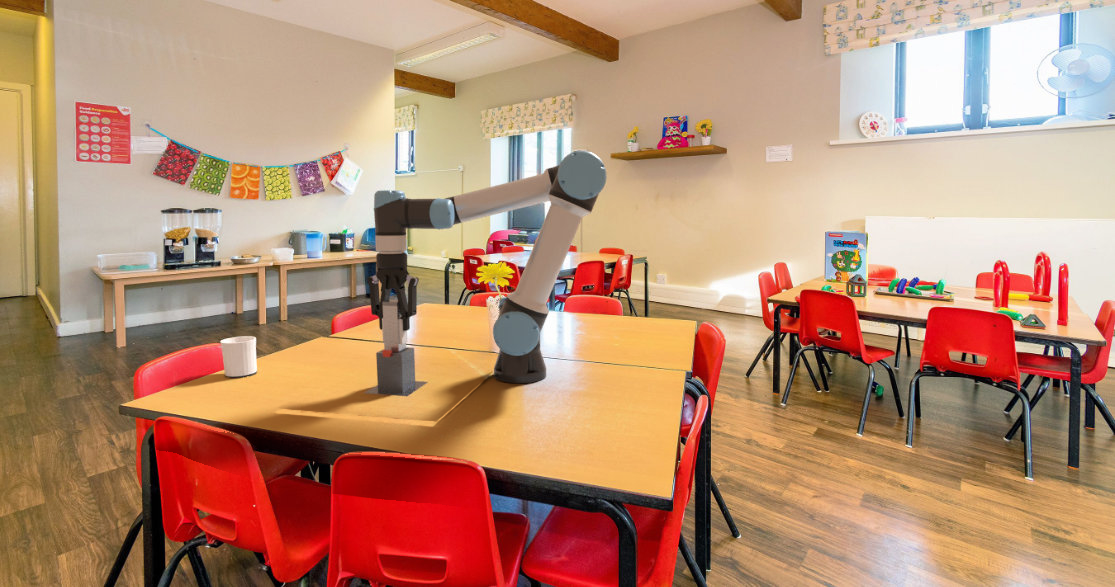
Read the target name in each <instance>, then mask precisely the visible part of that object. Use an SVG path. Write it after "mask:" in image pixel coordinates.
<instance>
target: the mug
mask: <svg viewBox="0 0 1115 587" xmlns="http://www.w3.org/2000/svg"><path fill="white" fill-rule="evenodd" d="M219 342H220V346H221V351H222V353H221V354H222V360H223V369H224V376H226V377H225V378H227V377H229V378H228V379H243V377H244V378H247V376H249V377H251V376H254V375H256V374H257V372H258V366H257V365H258V364H257V349H256V347H257V337H255V336H250V335H248V336H247V335H244V336H234V337H228V338H224V339H222V340H220V341H219Z"/></svg>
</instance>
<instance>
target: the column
mask: <svg viewBox="0 0 1115 587" xmlns="http://www.w3.org/2000/svg"><path fill="white" fill-rule="evenodd" d="M382 303H383V326H384V343H383V345H384V348H383V349H386V350H392V353H401V352H403V351H405V350H406V347H407V342H406V343H404V344H400V336H399V319H400V317H401V312H400V308H399V302H398V299H390V298H389V300H387V301H383V302H382Z"/></svg>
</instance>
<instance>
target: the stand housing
mask: <svg viewBox="0 0 1115 587" xmlns="http://www.w3.org/2000/svg"><path fill="white" fill-rule="evenodd" d="M375 354H376V355H375V356H376V359H375V360H376V376H377V384H376V385H375V386H373V387H372V388H369V389H368V390H367V391H365V392H364V394H370V395H372V394H373V395H384V396H386V395H387V396H397V397H398V396H399V397H409V396H410V395H412V394H413V393H414V392H416V391H418V390H419V389H420V388H422V387H423V386H425V385H426V384H427V383H429V381H422V380H421V381H419V380H416V364H415V362H416V361H415V360H416V359H415V347H408V346H406V350H405V351H403V352H401V353H392V350H386V349H384V348H383V349H380V350H379V351H377V352H376V353H375Z"/></svg>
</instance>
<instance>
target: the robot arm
mask: <svg viewBox="0 0 1115 587" xmlns="http://www.w3.org/2000/svg"><path fill="white" fill-rule="evenodd" d="M606 182H607V170H606V166H605V164H604V161H602V159H601V158H600V157H599V156H598V155H596V154H595V153H593V152H591V151H588V150H576V151H573V152H570V153H568V154H567V155H566V156H565V157H564V158H563V159H562V160H561V161H560V163H559V164H558V165H555V166H552V167H548V168H545V170H544V171H543V173H541V174H536V175H532V176H530V177H524V178H520V179H517V180H513V181H509V182H505V183H501V184H497V185H493V186H490V187H485V188H481V189H477V190H473V191H470V192H466V193H461V194H457V195H454V196H448V197H445V198H439V197H437V198H407V196H406V194H405V192H404V191H403V190H389V189H388V190H382V189H381V190H377V191H375V193H374V195H373V197H374V198H373V199H374V200H373V202H374V203H373V213H374V214H373V215H374V229H375V234H374V235H375V237H374V238H375V251H376V252H378V253H376V255H375V257H376V259H375V261H376V262H375V263H376V268H377V271H376V272H375V274H374V275H373V276H372V275H371V276H367V277H366V281H367V283H368V284H367V285H368V286H369V288H368V289H369V297H370V298H369V299H370V310H371V312H370V313H371V315H373V316H376V317H377V318H378V324H379V325H378V326H379V327H378V328H379V330H381V332H382V343H383V344H384V326H383V303H382V302H383V301H387V300H390V296H391V292H392V290H394V293H395V294H396V298H397V299H396V300H398V302H399V308H400V312H401V317H400V319H399V336H400V344H404V343H406V344H407V342H408V331H409V330H410V329H411V328H410V326H411V325H410V322H411V321H410V319H411V317H413V316H415V315H417V307H418V306H417V300H418V299H417V296H418V295H417V292H418V290H417V289H418V288H417V286H418V284H419V282H420V279H419V277H417V276H416V277H414V276H411V275H410V273H409V270H408V254H407V252H406V251H407V250H408V245H407V242H408V241H407V230H408V229H410V230H412V229H413V230H414V229H416V230H417V229H418V230H419V229H421V230H423V229H424V230H444V229H445V230H448V229H452V228H453V226H454V225H459V224H462V223H466V222H470V221H474V220H478V219H482V218H487V217H490V216H494V215H499V214H502V213H506V212H507V213H508V212H512V211H515V210H519V209H523V208H527V207H530V206H531V207H532V206H535V205H539V204H543V203H547V202H550V206H549V208H548V211H547V213H546V216H545V218H544V220H543V222H542V223H543V224H542V225H541V228H540V230H539V232H538V235H537V238H536V240H535V243H534V245H533V247H532V249H531V252H530V254H529V257H528V259H527V262H526V265H525V267H524V270H523V272H522V274H521V276H520V279H519V281H518V284H517V286H516V289H515V291H513V292H510V293H507V294H506V296H504V297H501V298H500V299H499V302H498V306H497V307H498V311H499V312H498V316H497V319H496V320H495V322H494V324H493V325H492V326H493V327H492V336H493V339H494V340H493V341H494V342H495V345H496V346H497V347H498V348H499V351H498V355H497V358H496V361H495V364H494V368H493V378H494V379H495V380H497V381H499V382H503V383H509V384H526V383H527V384H528V383H534V382H535V383H536V382H539V381H542V380H544V379H545V378H546V377H547V366H546V362H545V360H544V357H543V354H542V350H541V333H542V329H543V327H544V324H545V322H546V320H547V317H548V315H549V312H550V311H549V308H548V306H547V302H548V300H549V297H550V296H551V294H552V291H553V288H554V285H555V284H556V281H557V279H558V276H559V274H560V272H561V270H562V267H563V265H564V262H565V260H566V257H567V255H568V253H569V250H570V248H571V246H572V244H573V242H574V239H575V236H576V233H577V231H578V229H579V226H580V224H581V222H582V219H583V218H584V217H586V216H588V215H591V213H592V211H593V209H594V206H595V204H596V202H597V199H598V197H599V195H600V193H601V192H602V190H604V188H605V185H606ZM406 282H407V285H408V287H407V293H406V286H405V284H406ZM379 283H380V284H381V285H380V287H379ZM379 288H380V289H379ZM380 292H381V293H380ZM406 294H407V295H406Z"/></svg>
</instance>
